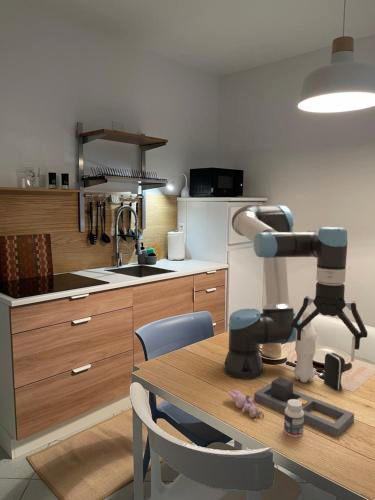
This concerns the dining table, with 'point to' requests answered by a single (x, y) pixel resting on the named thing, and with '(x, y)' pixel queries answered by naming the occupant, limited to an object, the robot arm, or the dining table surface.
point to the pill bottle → (294, 418)
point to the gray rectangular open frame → (304, 406)
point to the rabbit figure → (245, 403)
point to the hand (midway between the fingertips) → (326, 355)
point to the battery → (333, 370)
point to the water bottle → (305, 353)
